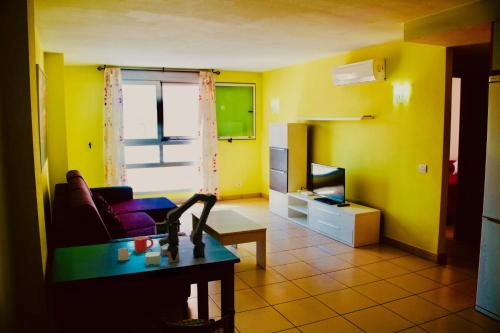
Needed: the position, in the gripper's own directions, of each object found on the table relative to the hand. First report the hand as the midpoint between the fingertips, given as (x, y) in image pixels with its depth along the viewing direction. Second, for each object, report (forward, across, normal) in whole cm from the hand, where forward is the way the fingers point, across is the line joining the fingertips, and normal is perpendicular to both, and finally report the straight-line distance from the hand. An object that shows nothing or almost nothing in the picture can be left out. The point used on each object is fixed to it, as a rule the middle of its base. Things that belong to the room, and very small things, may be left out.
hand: (174, 258), depth 230 cm
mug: (+1, -24, -20) cm, 31 cm away
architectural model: (+2, -7, -30) cm, 31 cm away
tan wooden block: (+1, -13, -5) cm, 14 cm away
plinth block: (+1, +1, -12) cm, 12 cm away
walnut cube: (+1, 0, 0) cm, 1 cm away
